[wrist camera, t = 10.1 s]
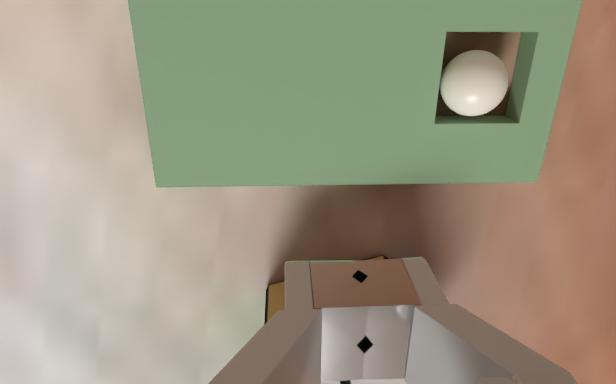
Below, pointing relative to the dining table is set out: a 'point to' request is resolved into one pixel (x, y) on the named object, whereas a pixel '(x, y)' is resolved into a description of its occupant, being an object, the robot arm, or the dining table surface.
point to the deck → (339, 91)
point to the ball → (474, 83)
